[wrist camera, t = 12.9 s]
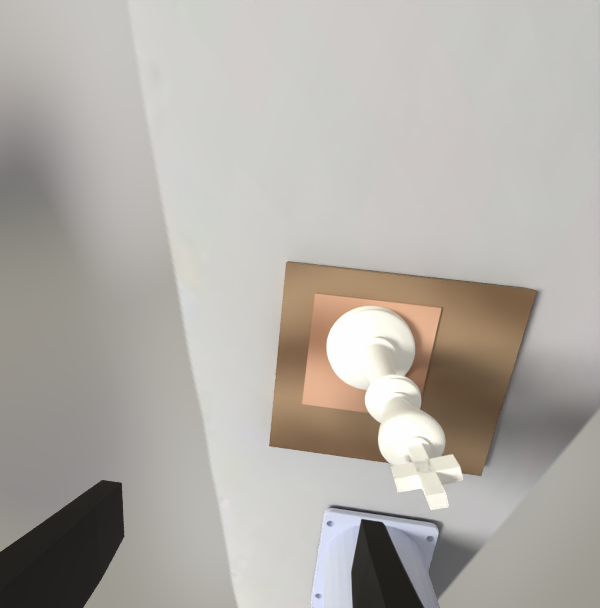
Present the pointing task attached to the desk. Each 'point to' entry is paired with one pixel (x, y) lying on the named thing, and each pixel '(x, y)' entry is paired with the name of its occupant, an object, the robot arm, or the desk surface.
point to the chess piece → (393, 398)
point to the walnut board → (424, 371)
